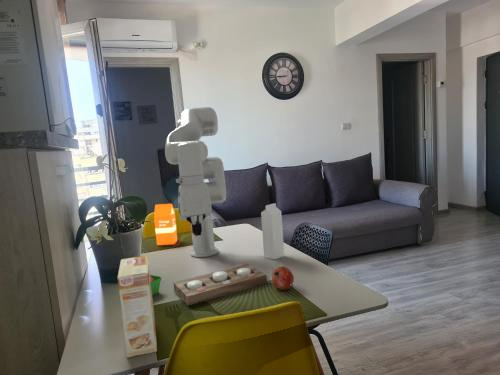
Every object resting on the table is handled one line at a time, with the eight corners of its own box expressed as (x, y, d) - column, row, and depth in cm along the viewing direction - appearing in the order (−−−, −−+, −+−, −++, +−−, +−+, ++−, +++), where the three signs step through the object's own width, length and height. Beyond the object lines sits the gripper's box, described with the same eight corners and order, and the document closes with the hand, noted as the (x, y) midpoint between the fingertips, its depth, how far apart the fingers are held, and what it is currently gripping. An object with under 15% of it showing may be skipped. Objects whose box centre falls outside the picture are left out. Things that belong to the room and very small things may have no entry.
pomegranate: (281, 288, 121) (260, 277, 116) (292, 270, 122) (272, 258, 117) (294, 298, 115) (273, 287, 110) (305, 278, 115) (285, 266, 110)
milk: (284, 256, 148) (281, 203, 145) (274, 260, 144) (271, 206, 141) (273, 253, 153) (270, 202, 150) (263, 257, 149) (260, 204, 146)
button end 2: (234, 276, 126) (234, 270, 125) (246, 273, 128) (246, 266, 128) (241, 280, 122) (240, 273, 121) (253, 277, 124) (253, 270, 124)
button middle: (210, 280, 121) (210, 273, 121) (223, 276, 124) (223, 270, 123) (216, 284, 117) (216, 277, 117) (229, 281, 119) (229, 274, 119)
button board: (174, 290, 120) (173, 281, 120) (247, 271, 133) (246, 263, 133) (188, 305, 108) (187, 295, 108) (267, 282, 121) (266, 273, 121)
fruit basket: (137, 305, 111) (133, 270, 110) (118, 300, 116) (114, 267, 114) (164, 291, 120) (160, 259, 119) (146, 287, 125) (142, 256, 124)
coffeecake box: (157, 351, 85) (148, 272, 82) (125, 358, 83) (115, 277, 80) (155, 322, 99) (148, 254, 97) (128, 328, 97) (120, 258, 95)
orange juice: (174, 244, 180) (170, 204, 177) (156, 245, 180) (152, 206, 177) (177, 239, 187) (173, 202, 185) (160, 241, 188) (156, 203, 185)
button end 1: (185, 289, 117) (185, 282, 117) (199, 285, 119) (198, 279, 119) (190, 294, 113) (190, 287, 113) (204, 290, 115) (204, 283, 115)
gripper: (173, 184, 110) (179, 242, 113) (217, 178, 117) (222, 233, 120) (166, 182, 116) (172, 236, 119) (209, 176, 123) (213, 228, 126)
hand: (197, 234), depth 120 cm, fingers closed
